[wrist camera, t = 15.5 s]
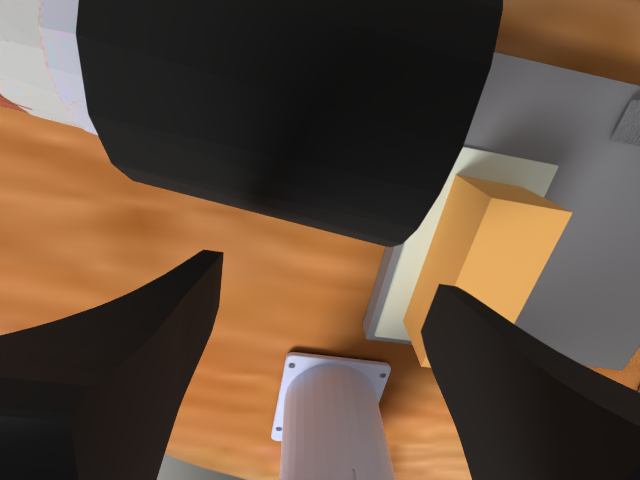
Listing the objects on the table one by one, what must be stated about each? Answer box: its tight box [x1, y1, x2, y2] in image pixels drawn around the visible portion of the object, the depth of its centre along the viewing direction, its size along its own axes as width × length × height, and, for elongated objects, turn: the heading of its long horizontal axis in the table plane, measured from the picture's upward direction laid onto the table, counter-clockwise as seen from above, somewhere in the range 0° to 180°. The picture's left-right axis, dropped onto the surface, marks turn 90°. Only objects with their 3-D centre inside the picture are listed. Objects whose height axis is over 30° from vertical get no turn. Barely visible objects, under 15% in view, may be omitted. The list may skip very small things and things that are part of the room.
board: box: [362, 52, 640, 370], centre depth 22 cm, size 18×20×2 cm
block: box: [403, 175, 573, 368], centre depth 19 cm, size 10×4×4 cm, turn 169°
